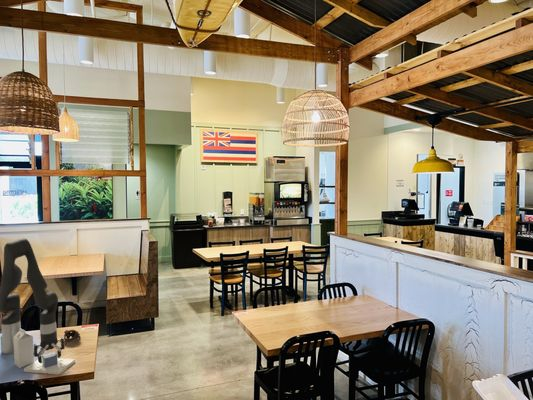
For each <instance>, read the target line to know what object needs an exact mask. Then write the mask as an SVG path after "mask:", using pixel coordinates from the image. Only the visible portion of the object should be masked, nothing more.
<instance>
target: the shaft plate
mask: <svg viewBox="0 0 533 400" xmlns="http://www.w3.org/2000/svg"><path fill="white" fill-rule="evenodd" d="M57 361H58V364H56V365H53V366H50V367H46V368H45V367H44V366H43V364H42V363H39V362H38V359H37V360H34V363H32V364H29V365H26V366H25V368H24V367H23V372H24V373H26V372H27V373H37V374H47V373H48V375H60V374H61V373H63V372H64V371H65V370H67V369H68V368H69V367H71V366H72V365H73V364H75V363H76V359H74V358H61V357H60V358H58V357H57Z"/></svg>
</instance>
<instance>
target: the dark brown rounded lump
mask: <svg viewBox="0 0 533 400" xmlns="http://www.w3.org/2000/svg"><path fill="white" fill-rule="evenodd" d="M63 333H64V334H63V339H64V345H67V344H70V343H73V342H76V340H78V339H80V340H81V335H80V333H79V331H78V330H75V329H70V330H68V329H66V330H64V332H63Z"/></svg>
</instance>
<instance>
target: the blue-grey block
mask: <svg viewBox="0 0 533 400" xmlns="http://www.w3.org/2000/svg"><path fill="white" fill-rule="evenodd" d="M41 356H42V364H43V366H44V367H45V368H46V367H50V366H53V365H56V364H58V361H57V358H58V356H57V352H56V351H55V350H53V351H51V352H46V353H43V354H42V355H41Z"/></svg>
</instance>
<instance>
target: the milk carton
mask: <svg viewBox="0 0 533 400" xmlns="http://www.w3.org/2000/svg"><path fill="white" fill-rule="evenodd" d="M13 340H14V353H13V354H14V355H13V356H14V364H15V366H17V368H19V369H21V368H24V367H27V366H29V365H30V364H32V363H34V362H35V356H34V336H33V335H32V334H30V333H29V332H27V331H26V330H25V329H22V328H20V331H19V332H18V333H17V334H16V335H15V336H14V337H13Z"/></svg>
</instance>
